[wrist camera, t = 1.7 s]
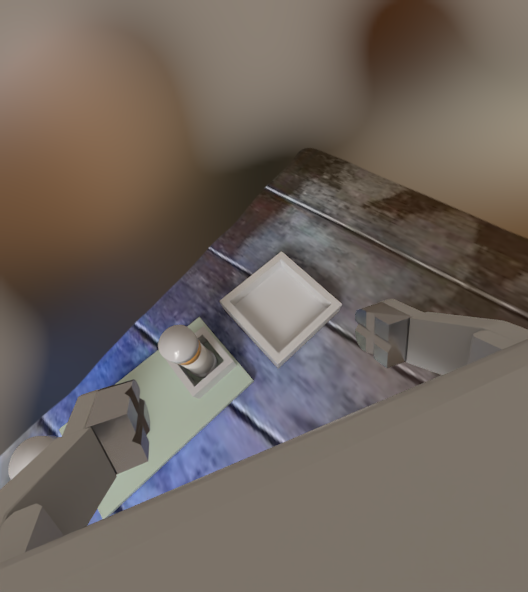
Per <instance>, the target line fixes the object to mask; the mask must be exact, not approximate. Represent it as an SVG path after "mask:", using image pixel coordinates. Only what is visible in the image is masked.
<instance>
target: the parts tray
mask: <svg viewBox="0 0 528 592" xmlns="http://www.w3.org/2000/svg"><path fill="white" fill-rule="evenodd" d="M220 303H221V305H222V307H223V309H224V310H225V311H226V312H227V313H228V314H229V315H230V317H231V318H232V319H233V320H234V321H235V322H236V323H237V324H238V325H239V326H240V328H241V329H242V330H243V331H244V332H245V333H246V334H247V335H248V336H249V337H250V338H251V340H252V341H253V342H254V343H255V344H256V345H257V346H258V347H259V348H260V349H261V351H262V352H263V353H264V354H265V355H266V356H267V357H268V358H269V359H270V360H271V362H272V363H273V364H274V365H275V366H276V367H277V368H278V369H279V368H280V367H281V366H282V365H283V364H284V363H285V362H286V361H287V360H288V359H289V358H290V357H291V356H292V355H293V354H294V353H295V352H297V351H298V350H299V349H300V348H301V347H302V346H303V345H304V344H305V343H306V342H307V341H308V340H309V339H310V338H311V337H312V336H313V335H315V334H316V333H317V332H318V331H319V330H320V329H321V328H322V327H323V326H324V325H325V324H326V323H327V322H328V321H329V320H330V319H332V318H333V317H334V316H335V315H336V314H337V313H338V311H339V310H340V308H341V306H342V304H341V303H340V302H339V301H338V300H337V299H336V298H335V297H333V296H332V295H331V294H330V293H329V292H328V291H326V290H325V289H324V288H323V287H322V286H321V285H320V284H318V283H317V282H316V281H315V280H314V279H313V278H312V277H310V276H309V275H308V274H307V273H306V272H305V271H304V270H302V269H301V268H300V267H299V266H298V265H297V264H296V263H294V262H293V261H292V260H291V259H290V258H289V257H288V256H286V255H285V254H284V253H283V252H282V251H281V252H280V253H279V254H278V255H276V256H275V257H274V258H273V259H271V260H270V261H269V262H268V263H266V264H265V265H264V266H263V267H261V268H260V269H259V270H258V271H256V272H255V273H254V274H253V275H251V276H250V277H249V278H248V279H246V280H245V281H244V282H243V283H241V284H240V285H239V286H238V287H236V288H235V289H234V290H233V291H231V292H230V293H229V294H228V295H226V296H225V297H224V298H223V299H221V300H220Z"/></svg>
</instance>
